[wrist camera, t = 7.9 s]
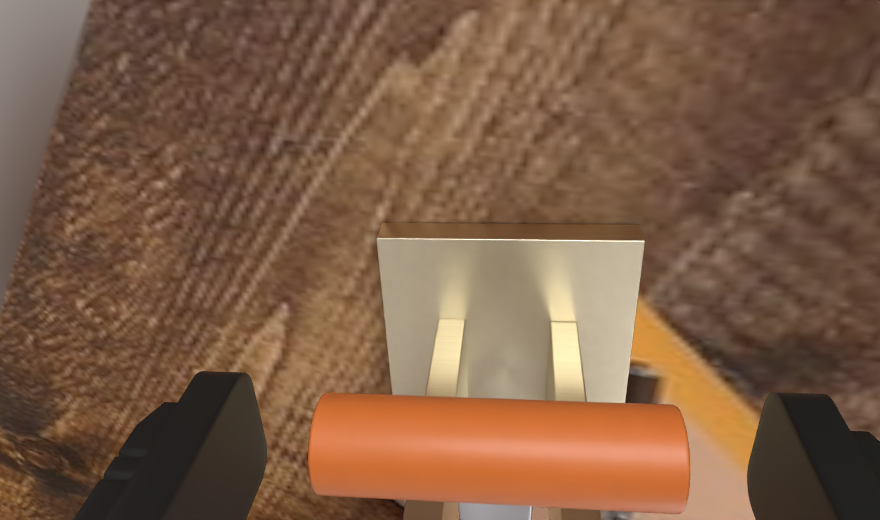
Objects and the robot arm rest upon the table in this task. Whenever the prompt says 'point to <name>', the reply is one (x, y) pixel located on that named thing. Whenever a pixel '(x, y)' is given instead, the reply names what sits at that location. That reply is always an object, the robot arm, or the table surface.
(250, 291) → the table surface
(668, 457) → the lever
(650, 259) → the table surface
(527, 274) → the bracket
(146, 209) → the table surface
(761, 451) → the robot arm
